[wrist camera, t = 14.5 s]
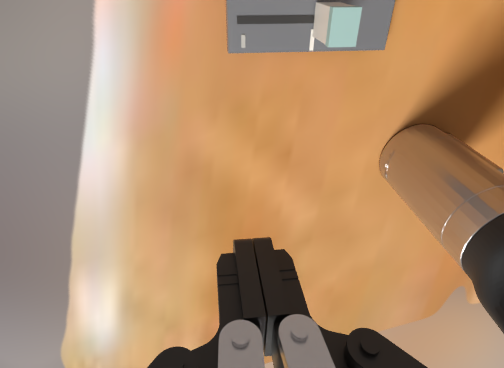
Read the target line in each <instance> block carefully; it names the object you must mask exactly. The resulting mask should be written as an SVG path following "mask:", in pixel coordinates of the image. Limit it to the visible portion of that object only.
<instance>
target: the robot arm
mask: <svg viewBox="0 0 504 368" xmlns="http://www.w3.org/2000/svg"><path fill="white" fill-rule="evenodd" d="M379 167H380V171H381V174H382V176H383V177H384V178H385V179H386V181H387V182H388V183H389V184H390V185H391V186H392V188H393V189H394V190H395V191H396V192H397V194H398V195H399V196H400V197H401V198H402V199H403V201H404V202H405V203H406V204H407V205H408V206H409V208H410V209H411V210H412V211H413V212H414V213H415V215H416V216H417V217H418V218H419V219H420V220H421V222H422V223H423V224H424V225H425V226H426V227H427V229H428V230H429V231H430V232H431V233H432V234H433V236H434V237H435V238H436V239H437V240H438V241H439V243H440V244H441V245H442V246H443V247H444V248H445V249H446V251H447V252H448V253H449V254H450V255H451V256H452V258H453V259H454V260H455V261H456V262H457V263H458V265H459V266H460V267H461V268H462V269H463V270H464V271H465V273H466V274H467V275H468V276H469V277H470V279H471V280H472V282H473V285H474V288H475V292H476V294H477V297H478V299H479V301H480V302H481V304H482V305H483V307H484V308H485V309H486V311H487V312H488V313H489V315H490V316H491V317H492V319H493V320H494V321H495V323H496V324H497V325H498V327H499V328H500V329H501V331H502V332H503V333H504V174H503V173H504V172H503V169H502V168H500V167H499V166H497V165H496V164H494V163H493V162H492V161H490V160H489V159H487V158H486V157H484V156H483V155H481V154H480V153H478V152H477V151H475V150H474V149H472V148H471V147H469V146H468V145H466V144H465V143H463V142H462V141H461V140H459V139H458V138H456V137H455V136H453V135H452V134H450V133H449V134H446V133H444V132H443V131H441V130H440V129H438V128H437V127H434V126H432V125H427V124H421V125H415V126H411V127H409V128H406V129H404V130H403V131H401V132H399V133H398V134H397V135H395V136H394V137H393V138H392V139H391V140H390V141H389V142H388V144H387V145H386V146H385V148H384V150H383V151H382V154H381V157H380V162H379ZM217 285H218V304H219V323H220V325H219V329H218V331H217V333H216V335H215V336H214V338H213V339H212V340H211V341H209V342H208V343H207V344H205V345H203V346H201V347H199V348H196V349H194V350H192V351H190V350H189V349H187V348H184V347H171V348H168V349H166V350H164V351H163V352H161V353H160V354H159V355H158V356H157V357H156V358H155V359H154V360H153V362H152V363H151V364H150V365H149V366H148V367H147V368H265V367H264V356H272V360H273V365H274V368H427V367H426V366H424V365H423V364H422V363H420V362H419V361H417V360H416V359H415V358H413V357H412V356H410V355H409V354H408V353H406V352H405V351H403V350H402V349H400V348H399V347H398V346H396V345H395V344H393V343H392V342H391V341H389V340H388V339H386V338H385V337H384V336H382V335H380V334H379V333H378V332H376V331H374V330H371V329H368V328H358V329H355V330H353V331H352V332H351V333H350V334H349V335H345V334H341V333H336V332H332V331H328V330H326V329H324V328H322V327H320V326H319V325H318V324H317V323H316V322H315V321H314V320H313V319H312V317H311V316H310V314H309V311H308V308H307V304H306V301H305V298H304V295H303V292H302V288H301V285H300V282H299V280H298V276H297V272H296V270H295V266H294V263H293V260H292V258H291V256H290V255H289V254H288V253H287V252H286V251H285V250H284V249H281V250H274V248H273V244H272V240H271V238H270V237H266V238H253V239H238V240H233V253H227V254H221V256H220V258H219V260H218V262H217ZM263 350H264V354H263Z"/></svg>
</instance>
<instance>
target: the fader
mask: <svg viewBox="0 0 504 368" xmlns="http://www.w3.org/2000/svg"><path fill="white" fill-rule="evenodd" d="M361 12H362V7H360V6H353V5H349V4H345V3H342V2H316V7H315V17H314V27H313V37H314V38H316V39H317V40H319V41H321V42H322V43H324V44H325V46H327V47H356V42H357V36H358V30H359V24H360V18H361Z"/></svg>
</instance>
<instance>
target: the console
mask: <svg viewBox="0 0 504 368" xmlns="http://www.w3.org/2000/svg"><path fill="white" fill-rule="evenodd" d="M316 2H342V3H345V4H349V5H353V6H360V7H362V12H361V18H360V24H359V30H358V36H357V42H356V47H327V46H325V44H324V43H322V42H321V41H319V40H317V39H316V38H314V37H313V27H314V17H315V7H316ZM394 3H395V0H226V20H227V50H228V53H264V52H311V51H358V50H385V45H386V40H387V36H388V31H389V26H390V22H391V17H392V12H393V8H394Z"/></svg>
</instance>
